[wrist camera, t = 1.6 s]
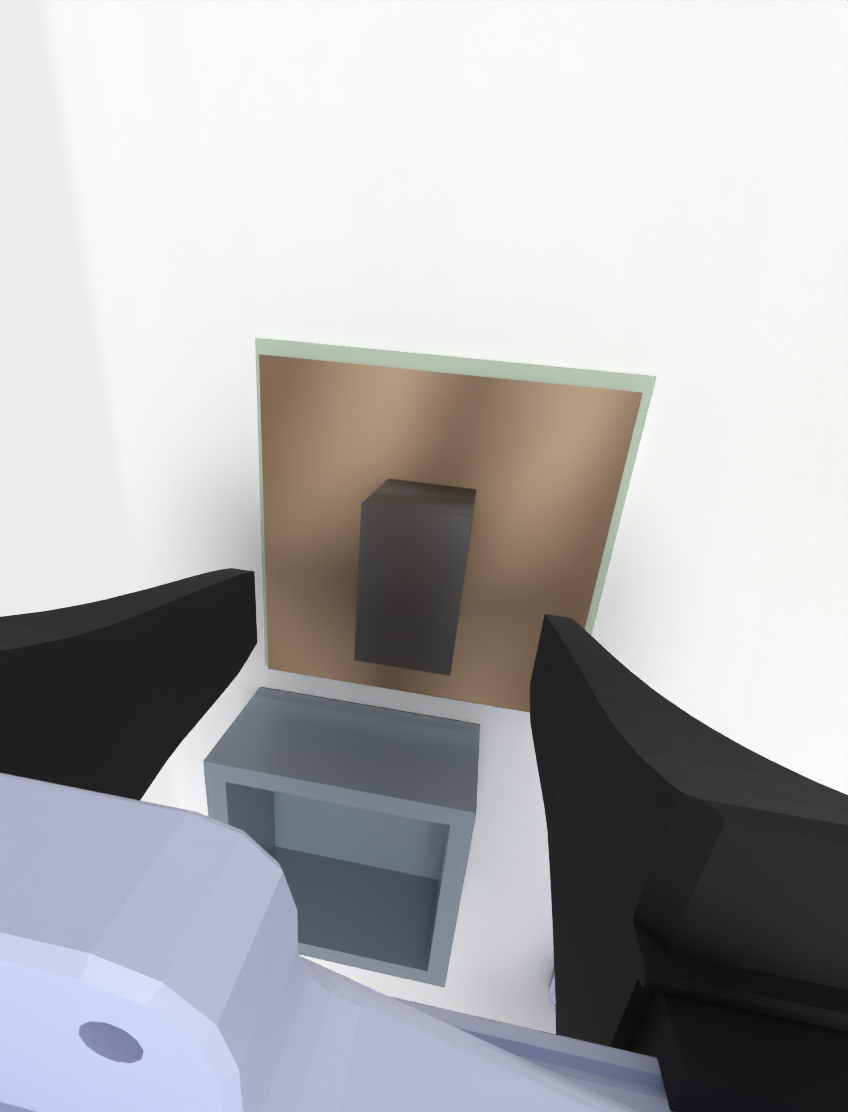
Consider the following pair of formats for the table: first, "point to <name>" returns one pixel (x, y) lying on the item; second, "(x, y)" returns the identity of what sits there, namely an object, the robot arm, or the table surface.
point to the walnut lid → (431, 521)
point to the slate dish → (355, 822)
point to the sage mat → (484, 370)
